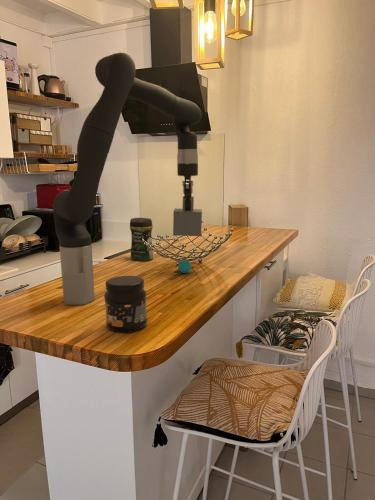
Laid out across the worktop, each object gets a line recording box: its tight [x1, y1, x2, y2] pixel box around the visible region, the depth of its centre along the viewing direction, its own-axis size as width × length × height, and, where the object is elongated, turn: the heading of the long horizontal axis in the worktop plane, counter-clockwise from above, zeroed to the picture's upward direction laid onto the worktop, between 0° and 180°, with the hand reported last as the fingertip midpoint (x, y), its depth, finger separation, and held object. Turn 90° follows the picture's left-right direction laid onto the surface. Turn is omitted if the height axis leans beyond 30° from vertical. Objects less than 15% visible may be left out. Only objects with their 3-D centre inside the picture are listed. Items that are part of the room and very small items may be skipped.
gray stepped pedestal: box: [172, 195, 203, 237], centre depth 147 cm, size 10×10×14 cm
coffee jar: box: [129, 217, 154, 262], centre depth 172 cm, size 10×8×19 cm
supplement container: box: [103, 275, 148, 333], centre depth 100 cm, size 10×10×12 cm
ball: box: [177, 259, 192, 274], centre depth 151 cm, size 5×5×5 cm
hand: (188, 209), depth 146 cm, fingers closed on gray stepped pedestal, 4 cm apart
